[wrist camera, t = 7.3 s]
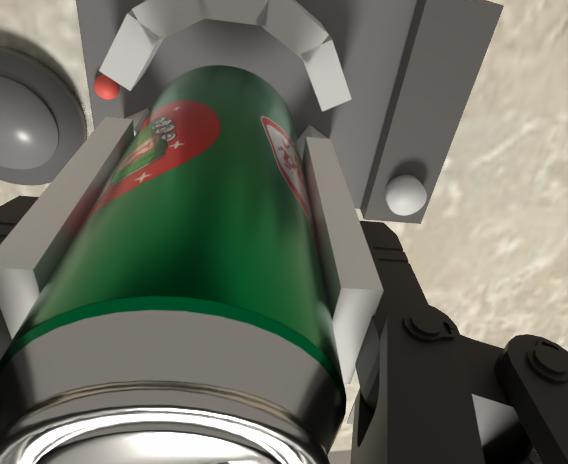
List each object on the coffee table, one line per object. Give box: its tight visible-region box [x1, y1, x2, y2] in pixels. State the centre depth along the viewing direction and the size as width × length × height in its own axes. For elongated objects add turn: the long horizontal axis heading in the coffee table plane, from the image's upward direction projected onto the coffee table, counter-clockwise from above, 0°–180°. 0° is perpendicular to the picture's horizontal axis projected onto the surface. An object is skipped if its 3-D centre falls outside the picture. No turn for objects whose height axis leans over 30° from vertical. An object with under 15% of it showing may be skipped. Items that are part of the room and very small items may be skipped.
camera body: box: [76, 0, 504, 224], centre depth 20 cm, size 16×10×8 cm, turn 83°
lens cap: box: [0, 46, 87, 185], centre depth 23 cm, size 8×8×1 cm
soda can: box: [0, 65, 346, 464], centre depth 10 cm, size 5×5×12 cm
